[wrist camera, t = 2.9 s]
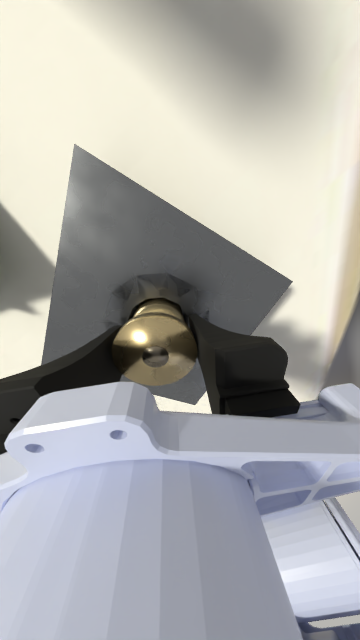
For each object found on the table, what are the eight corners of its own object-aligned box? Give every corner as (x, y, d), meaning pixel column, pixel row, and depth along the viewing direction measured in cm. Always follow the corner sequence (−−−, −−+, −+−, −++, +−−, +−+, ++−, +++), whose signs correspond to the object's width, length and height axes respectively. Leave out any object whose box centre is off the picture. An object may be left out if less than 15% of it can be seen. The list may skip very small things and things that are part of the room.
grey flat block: (266, 274, 15) (292, 281, 12) (190, 381, 21) (195, 405, 18) (101, 173, 11) (74, 143, 8) (64, 343, 17) (41, 365, 13)
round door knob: (194, 300, 15) (213, 339, 9) (172, 340, 17) (175, 395, 11) (145, 277, 14) (127, 304, 7) (127, 323, 16) (100, 375, 9)
